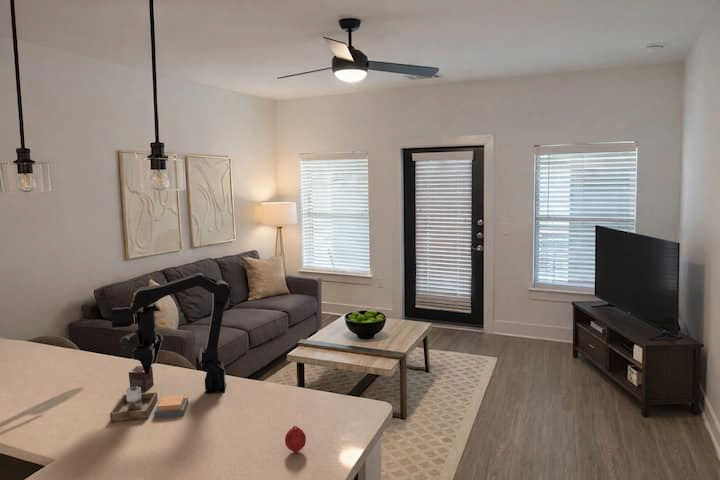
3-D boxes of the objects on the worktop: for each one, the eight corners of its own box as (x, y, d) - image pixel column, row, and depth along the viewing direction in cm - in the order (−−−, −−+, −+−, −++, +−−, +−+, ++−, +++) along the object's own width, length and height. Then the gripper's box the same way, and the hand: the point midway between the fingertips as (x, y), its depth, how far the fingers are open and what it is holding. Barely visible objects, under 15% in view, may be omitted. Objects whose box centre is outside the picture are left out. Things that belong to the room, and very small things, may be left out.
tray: (157, 400, 176) (157, 392, 176) (147, 419, 162) (146, 410, 162) (124, 402, 174) (123, 394, 174) (110, 422, 161) (109, 413, 160)
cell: (143, 405, 171) (142, 384, 170) (140, 412, 166) (138, 389, 165) (129, 407, 170) (128, 385, 169) (126, 413, 166) (124, 390, 165)
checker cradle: (188, 403, 173) (188, 397, 173) (183, 415, 164) (183, 409, 164) (160, 405, 172) (160, 400, 172) (154, 418, 163) (154, 412, 163)
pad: (184, 400, 172) (184, 395, 172) (180, 410, 165) (180, 404, 165) (163, 402, 171) (162, 396, 171) (158, 412, 164) (157, 406, 164)
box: (154, 385, 189) (152, 366, 188) (145, 392, 183) (144, 372, 182) (138, 384, 189) (137, 365, 188) (129, 391, 183) (128, 372, 182)
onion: (286, 447, 145) (285, 420, 144) (306, 446, 145) (305, 419, 144) (284, 458, 139) (283, 430, 138) (306, 457, 140) (305, 429, 139)
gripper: (128, 318, 181) (132, 360, 183) (113, 335, 163) (117, 382, 165) (161, 316, 183) (165, 357, 185) (150, 332, 164) (154, 378, 167)
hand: (150, 368), depth 175 cm, fingers open, 9 cm apart
